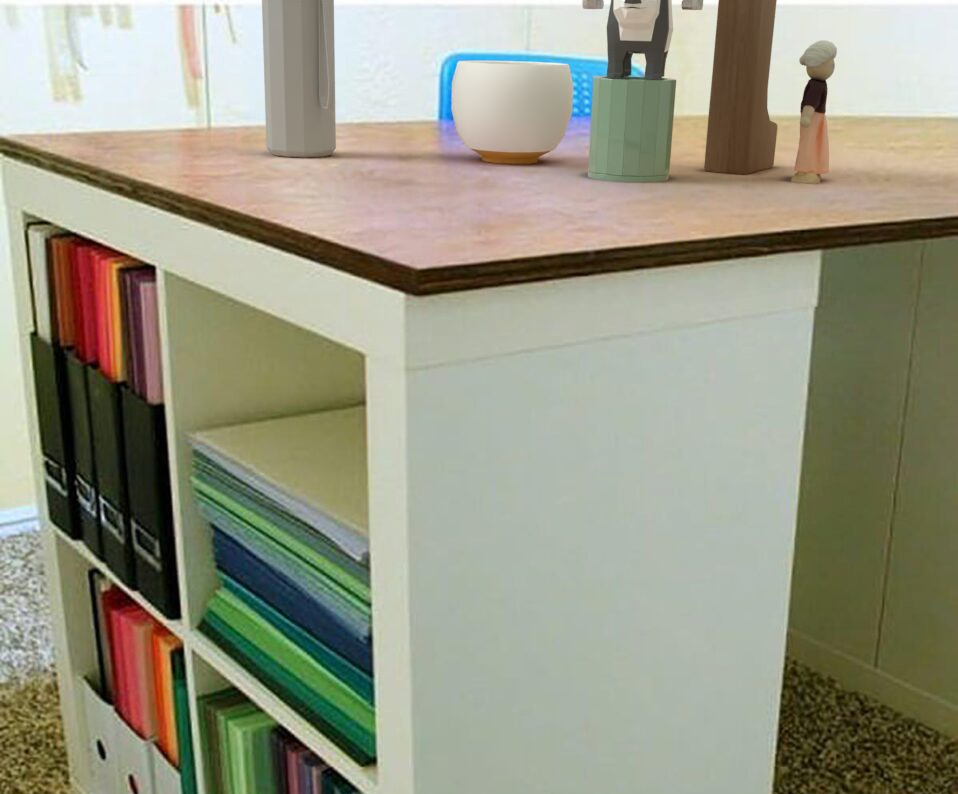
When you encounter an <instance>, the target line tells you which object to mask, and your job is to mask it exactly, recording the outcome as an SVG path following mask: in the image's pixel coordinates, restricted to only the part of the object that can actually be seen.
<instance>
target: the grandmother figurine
mask: <svg viewBox="0 0 958 794" xmlns="http://www.w3.org/2000/svg"><path fill="white" fill-rule="evenodd" d="M837 54H838V48H837V46H836V45H835V43H834V42H833V41H829V40H825V39H824V40H823V39H822V40H817V41H816V42H814V43H812V44H810V45H809V46H808V48H806V49H805V50H804V52H803V54H802V55H801V56H800V57H799V60H798V61H799V64H800V65H801V66H805V69H806V74H807V76H808V77H809V80H808V81H807V83H806V84H805V86H804V90H803V93H802V94H803V95H802V100H801V102H800V119H799V139H798V148H797V154H796V158H795V163H794V171H797V172H795V173H794V175H793V176H792V177H791V178H790V182H793V183H799V184H809V185H810V184H811V185H812V184H821V181H822V180H823V179H822V175H825V174H828V173H829V172H830V144H829V143H830V141H829V131H828V122H827V116H826V112H827V108H826V107H827V100H828V83H827V80H828V79H830V78H831V77H832V75H833V74H834V72H835V68H836V63H835V59H836V56H837Z"/></svg>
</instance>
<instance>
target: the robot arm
mask: <svg viewBox="0 0 958 794" xmlns="http://www.w3.org/2000/svg"><path fill="white" fill-rule="evenodd" d="M581 1H582V3H581V5H582V9H583V10H603V9H604V6H605V1H604V0H581ZM703 7H704V0H682V1H681V9H682V11H702V10H703Z"/></svg>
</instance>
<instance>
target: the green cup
mask: <svg viewBox="0 0 958 794" xmlns="http://www.w3.org/2000/svg"><path fill="white" fill-rule="evenodd" d="M644 77H645V76H634V75H633V76H632V75H630V76H624V78H621V79H615V78H613V79H612V78H607V75H598V76H596V75H595V76H593V77H592V86H591V87H592V89H591V107H590V125H589V127H590V128H589V143H588V148H589V149H588V160H587V162H588V163H587V170H588V171H587V177H588V178H591V179H593V180H599V181H608V182H621V183H658V182H665V181H668V180H669V175H670V169H671V157H672V144H673V142H672V141H673V131H674V116H675V106H676V105H675V104H676V103H675V102H676V90H677V79H675V78H669V77H662V79H660V80H646V79H644Z"/></svg>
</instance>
